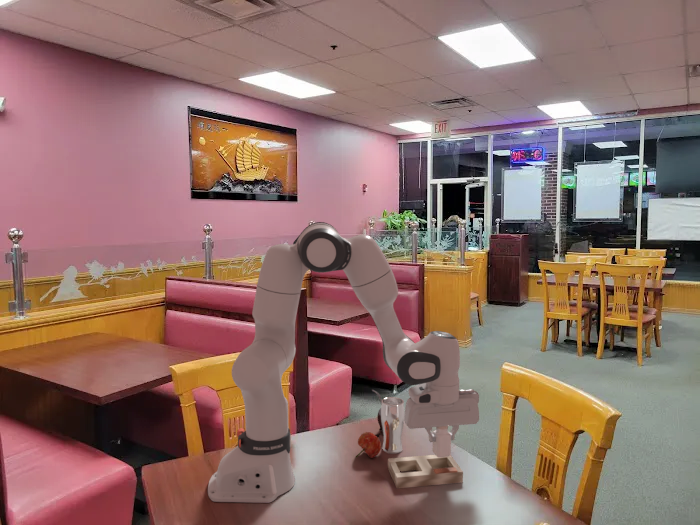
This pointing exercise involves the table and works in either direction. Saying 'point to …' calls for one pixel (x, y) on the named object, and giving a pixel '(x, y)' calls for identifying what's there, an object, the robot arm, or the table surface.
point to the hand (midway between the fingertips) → (441, 440)
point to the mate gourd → (379, 413)
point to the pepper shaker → (442, 442)
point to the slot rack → (424, 471)
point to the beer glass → (392, 424)
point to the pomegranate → (370, 444)
